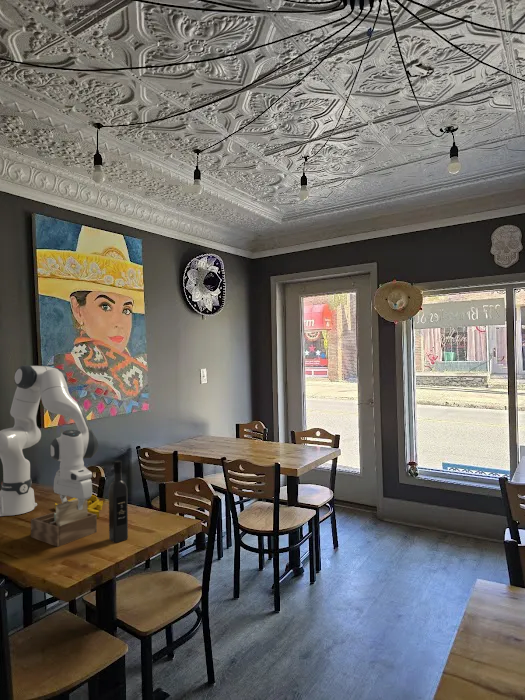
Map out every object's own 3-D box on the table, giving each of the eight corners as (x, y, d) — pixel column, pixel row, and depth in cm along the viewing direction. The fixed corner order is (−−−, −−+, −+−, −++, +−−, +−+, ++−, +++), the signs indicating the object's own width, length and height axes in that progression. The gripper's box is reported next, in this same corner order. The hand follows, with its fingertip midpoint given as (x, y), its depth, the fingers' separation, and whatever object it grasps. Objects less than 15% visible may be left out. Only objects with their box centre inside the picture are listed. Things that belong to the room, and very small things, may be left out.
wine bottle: (128, 539, 175) (128, 461, 176) (114, 543, 172) (114, 463, 172) (122, 535, 180) (121, 459, 180) (108, 539, 176) (107, 461, 176)
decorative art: (88, 493, 229) (122, 505, 210) (89, 499, 229) (122, 511, 210) (47, 504, 213) (79, 517, 194) (47, 510, 213) (79, 524, 194)
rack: (30, 537, 179) (30, 519, 180) (69, 523, 194) (69, 507, 194) (57, 546, 169) (57, 527, 170) (96, 531, 184) (96, 514, 184)
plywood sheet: (56, 541, 174) (55, 505, 175) (83, 531, 184) (83, 496, 185) (60, 543, 173) (59, 506, 173) (87, 532, 183) (87, 497, 183)
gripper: (49, 470, 182) (49, 505, 182) (80, 477, 171) (80, 514, 171) (63, 467, 187) (63, 501, 187) (95, 473, 176) (95, 509, 176)
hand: (72, 507), depth 179 cm, fingers open, 8 cm apart
